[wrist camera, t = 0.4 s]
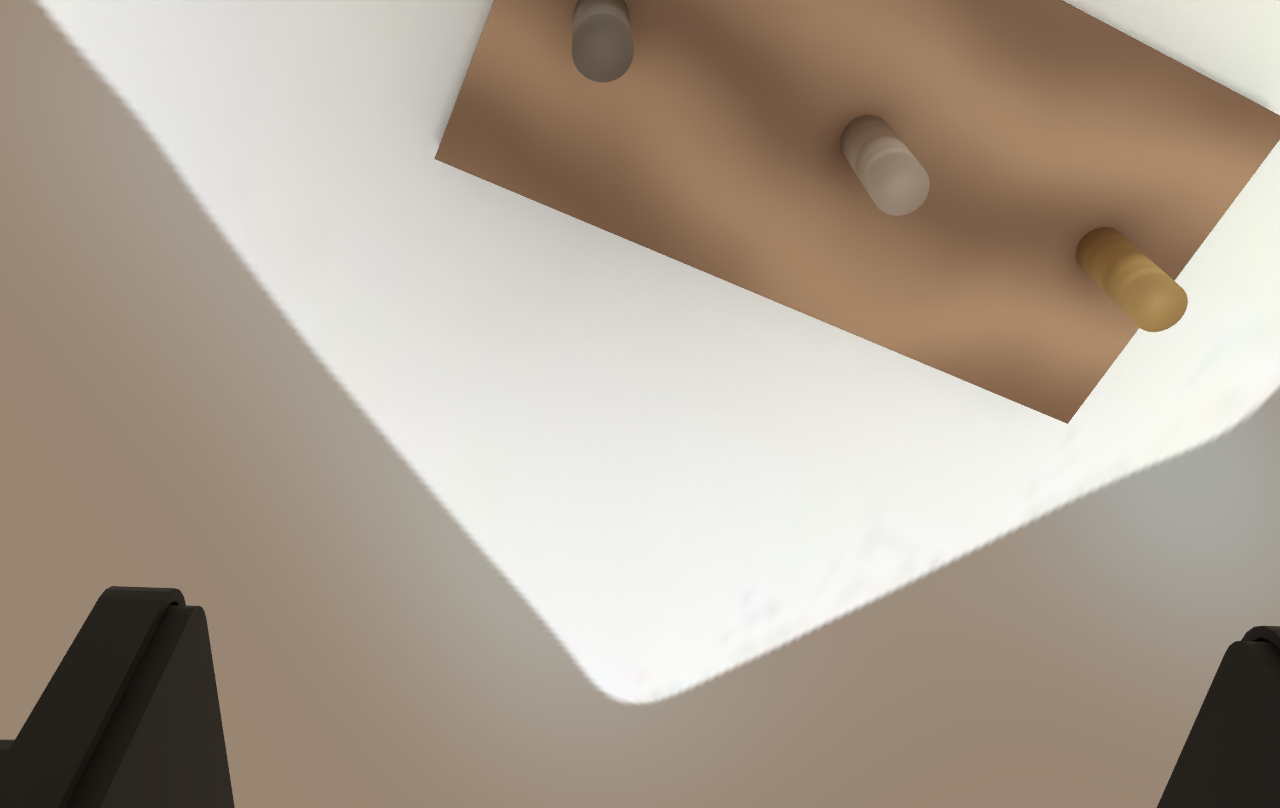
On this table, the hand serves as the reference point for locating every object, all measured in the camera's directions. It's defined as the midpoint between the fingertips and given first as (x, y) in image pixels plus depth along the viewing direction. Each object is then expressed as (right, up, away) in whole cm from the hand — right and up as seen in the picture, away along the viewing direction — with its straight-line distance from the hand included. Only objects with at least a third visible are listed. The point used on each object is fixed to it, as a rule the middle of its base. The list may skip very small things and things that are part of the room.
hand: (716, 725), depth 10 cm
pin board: (+6, +12, +26) cm, 29 cm away
